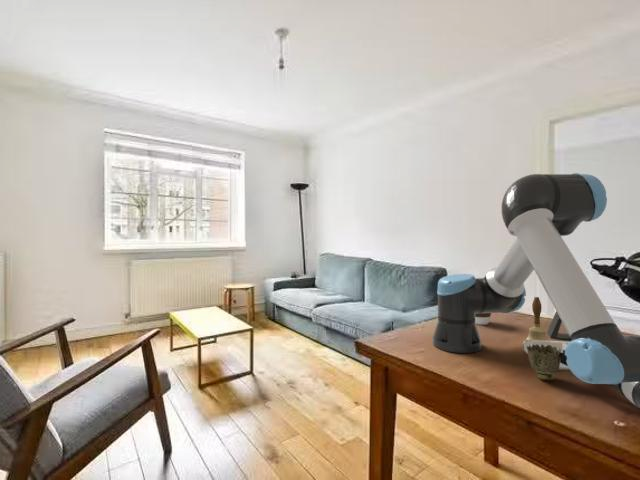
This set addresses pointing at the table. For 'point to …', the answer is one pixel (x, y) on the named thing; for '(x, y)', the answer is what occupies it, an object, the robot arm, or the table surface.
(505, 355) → the table surface
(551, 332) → the phone stand
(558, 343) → the tray
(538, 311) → the hand bell
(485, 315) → the coffee cup
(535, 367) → the cup
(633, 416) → the table surface
